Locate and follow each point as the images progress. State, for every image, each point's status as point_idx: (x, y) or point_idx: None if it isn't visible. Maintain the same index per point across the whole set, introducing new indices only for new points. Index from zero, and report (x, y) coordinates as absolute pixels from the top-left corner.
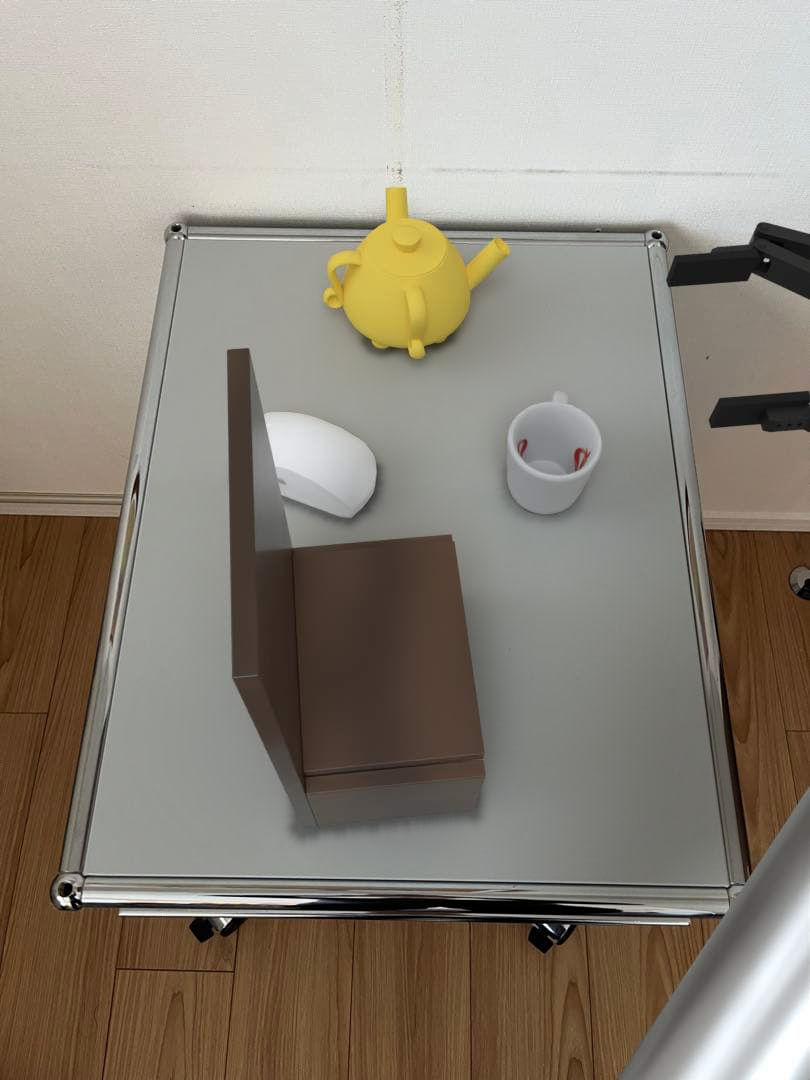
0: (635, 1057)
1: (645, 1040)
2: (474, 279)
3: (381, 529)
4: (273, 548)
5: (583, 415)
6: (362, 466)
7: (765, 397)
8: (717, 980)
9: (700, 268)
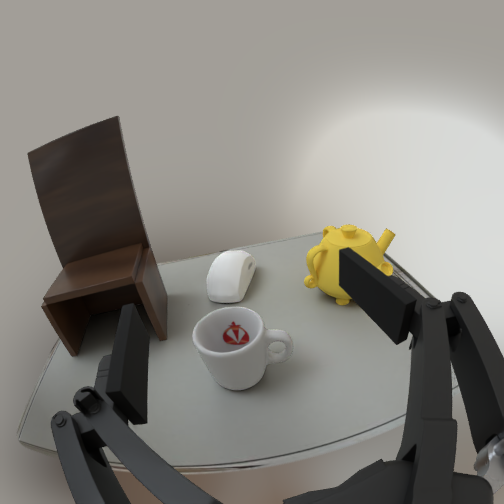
0: None
1: None
2: None
3: (204, 311)
4: (86, 179)
5: (253, 340)
6: (224, 283)
7: (121, 340)
8: None
9: (356, 276)
